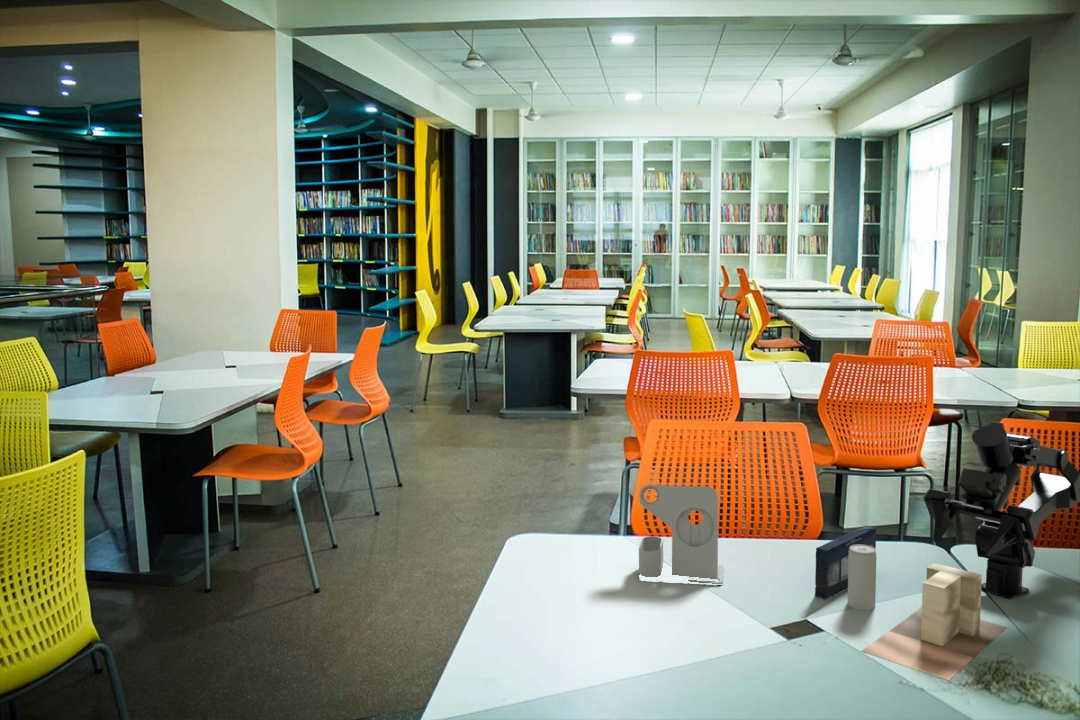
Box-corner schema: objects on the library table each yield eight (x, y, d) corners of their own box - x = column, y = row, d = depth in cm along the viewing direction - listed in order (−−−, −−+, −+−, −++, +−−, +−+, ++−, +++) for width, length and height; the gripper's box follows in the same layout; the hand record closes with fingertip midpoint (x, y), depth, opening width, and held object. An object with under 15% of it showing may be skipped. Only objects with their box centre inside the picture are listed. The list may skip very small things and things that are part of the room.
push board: (925, 610, 161) (925, 604, 160) (1007, 633, 151) (1007, 627, 150) (861, 657, 144) (861, 651, 144) (948, 687, 134) (948, 680, 133)
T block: (932, 616, 155) (934, 562, 154) (979, 630, 150) (981, 574, 148) (907, 635, 149) (909, 579, 147) (956, 650, 143) (958, 592, 141)
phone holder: (636, 581, 178) (634, 496, 176) (641, 563, 188) (640, 482, 186) (722, 586, 174) (722, 499, 172) (723, 567, 184) (723, 485, 182)
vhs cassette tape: (825, 600, 167) (826, 550, 165) (812, 596, 169) (812, 546, 168) (877, 575, 178) (878, 528, 177) (864, 571, 180) (865, 524, 179)
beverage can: (877, 617, 159) (878, 553, 157) (849, 615, 160) (850, 552, 158) (872, 606, 163) (874, 544, 162) (845, 604, 164) (846, 543, 163)
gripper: (934, 446, 165) (898, 505, 158) (1040, 463, 151) (1005, 529, 144) (948, 486, 170) (913, 545, 163) (1052, 507, 156) (1019, 573, 149)
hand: (960, 547), depth 155 cm, fingers open, 9 cm apart
